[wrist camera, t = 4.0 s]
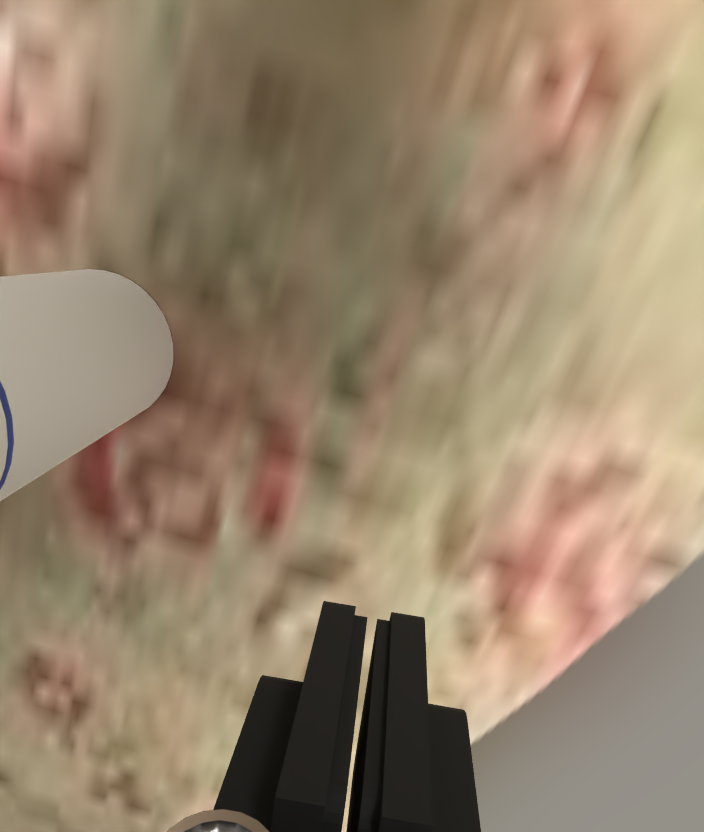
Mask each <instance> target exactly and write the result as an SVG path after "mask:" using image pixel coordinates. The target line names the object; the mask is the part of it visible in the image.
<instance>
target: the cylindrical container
mask: <svg viewBox="0 0 704 832" xmlns="http://www.w3.org/2000/svg"><path fill="white" fill-rule="evenodd" d="M172 366H173V342H172V337H171V332H170V329H169V326H168V324H167V322H166V319H165V317H164V315H163V313H162V311H161V310H160V308H159V307H158V305H157V304H156V302H155V301H154V300H153V299H152V298H151V297H150V296H149V295H148V294H147V293H146V292H145V290H144V289H142V288H141V287H139V286H138V285H137V284H135V283H134V282H133V281H131V280H129V279H127V278H125V277H123V276H121V275H119V274H116V273H112V272H109V271H105V270H95V269H83V270H71V271H60V272H48V273H37V274H25V275H14V276H2V277H0V501H2V500H3V499H5V498H6V497H8V496H10V495H11V494H13V493H14V492H16V491H17V490H19V489H21V488H22V487H24V486H25V485H27V484H29V483H30V482H32V481H33V480H35V479H36V478H38V477H40V476H41V475H43V474H44V473H46V472H48V471H49V470H51V469H52V468H54V467H55V466H57V465H59V464H60V463H62V462H63V461H65V460H67V459H68V458H70V457H71V456H73V455H74V454H76V453H78V452H79V451H81V450H82V449H84V448H86V447H87V446H89V445H90V444H92V443H93V442H95V441H97V440H98V439H100V438H101V437H103V436H104V435H106V434H108V433H109V432H111V431H112V430H114V429H116V428H117V427H119V426H120V425H122V424H123V423H125V422H127V421H128V420H130V419H131V418H133V417H134V416H136V415H138V414H139V413H141V412H142V411H144V410H146V409H147V408H149V407H150V406H151V405H152V404H153V403H154V402H155V401H156V400H157V399H158V398H159V397H160V395H161V394H162V392H163V391H164V389H165V388H166V385H167V383H168V380H169V378H170V376H171V371H172Z"/></svg>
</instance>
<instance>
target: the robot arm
mask: <svg viewBox="0 0 704 832" xmlns="http://www.w3.org/2000/svg"><path fill="white" fill-rule="evenodd" d="M355 608H356V606H351V605H345V604H339V603H332V602H326V601H324V602H323V605H322V609H321V614H320V618H319V622H318V626H317V630H316V634H315V638H314V642H313V646H312V650H311V654H310V658H309V662H308V666H307V670H306V674H305V678H304V682H299V681H293V680H287V679H281V678H276V677H270V676H264V675H262V676H261V678H260V680H259V682H258V685H257V688H256V691H255V693H254V696H253V699H252V702H251V705H250V708H249V710H248V713H247V716H246V719H245V722H244V725H243V727H242V730H241V733H240V736H239V739H238V742H237V744H236V747H235V750H234V753H233V756H232V759H231V761H230V764H229V767H228V770H227V773H226V775H225V778H224V781H223V784H222V787H221V790H220V792H219V795H218V798H217V801H216V804H215V807H214V809H213V810H209V811H202V812H200V813H197V814H194V815H191V816H189V817H186V818H184V819H183V820H181V821H180V822H178V823H177V824H175V825H174V826H173V827H171V828H170V829H168V831H167V832H341V830H342V823H343V816H344V809H345V801H346V794H347V786H348V777H349V769H350V760H351V752H352V743H353V735H354V726H355V718H356V709H357V701H358V692H359V684H360V675H361V666H362V658H363V649H364V641H365V632H366V624H367V617H362V616H356V615H355ZM347 832H481V829H480V820H479V812H478V804H477V796H476V788H475V779H474V772H473V763H472V755H471V747H470V738H469V730H468V722H467V716H466V712H465V711H464V710H462V709H456V708H450V707H444V706H438V705H433V704H428V692H427V666H426V641H425V620H424V618H423V617H417V616H411V615H405V614H399V613H393V612H392V613H391V616H390V621H386V620H380V619H378V620H377V625H376V631H375V637H374V643H373V649H372V656H371V662H370V668H369V674H368V681H367V687H366V693H365V700H364V706H363V712H362V718H361V725H360V731H359V737H358V743H357V750H356V756H355V763H354V770H353V779H352V788H351V797H350V806H349V815H348V824H347Z"/></svg>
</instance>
